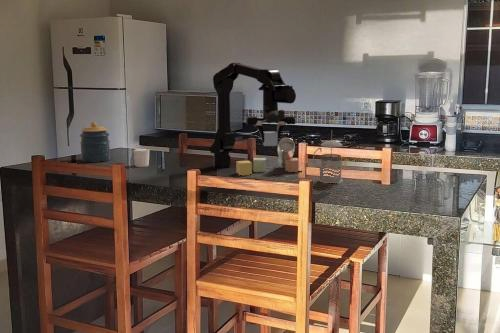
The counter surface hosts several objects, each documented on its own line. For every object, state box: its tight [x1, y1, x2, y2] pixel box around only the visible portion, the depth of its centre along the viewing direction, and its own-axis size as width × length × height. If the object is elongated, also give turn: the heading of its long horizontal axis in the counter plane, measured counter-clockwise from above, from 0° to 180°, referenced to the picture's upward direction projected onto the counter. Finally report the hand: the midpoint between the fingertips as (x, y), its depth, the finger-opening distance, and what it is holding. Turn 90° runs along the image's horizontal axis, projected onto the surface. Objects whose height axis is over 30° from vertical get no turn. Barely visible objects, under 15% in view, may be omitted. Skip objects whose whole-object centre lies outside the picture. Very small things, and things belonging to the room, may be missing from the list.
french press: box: [312, 114, 344, 184], centre depth 207 cm, size 10×12×25 cm
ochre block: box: [235, 160, 253, 176], centre depth 222 cm, size 5×5×5 cm
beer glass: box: [277, 137, 296, 168], centre depth 230 cm, size 7×7×15 cm
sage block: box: [252, 157, 267, 173], centre depth 229 cm, size 5×5×5 cm
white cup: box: [132, 148, 150, 168], centre depth 241 cm, size 7×7×7 cm
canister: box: [79, 121, 111, 163], centre depth 253 cm, size 13×13×18 cm
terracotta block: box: [284, 157, 299, 173], centre depth 227 cm, size 5×5×5 cm
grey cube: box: [262, 130, 279, 147], centre depth 218 cm, size 5×5×5 cm
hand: (270, 142), depth 218 cm, fingers closed on grey cube, 5 cm apart
